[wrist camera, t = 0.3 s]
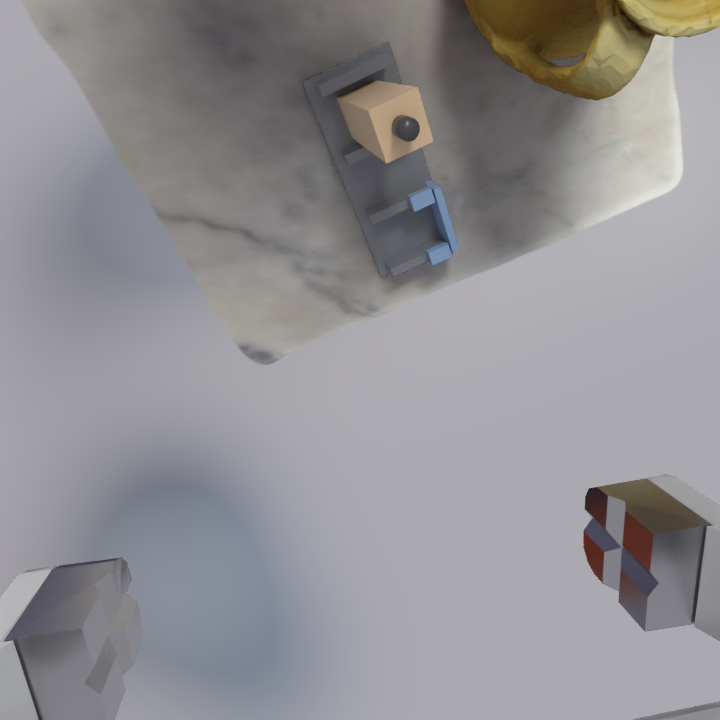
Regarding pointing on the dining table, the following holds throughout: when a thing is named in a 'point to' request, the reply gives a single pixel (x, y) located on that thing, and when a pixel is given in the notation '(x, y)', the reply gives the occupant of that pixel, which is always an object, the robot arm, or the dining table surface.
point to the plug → (386, 118)
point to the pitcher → (586, 37)
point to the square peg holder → (383, 174)
